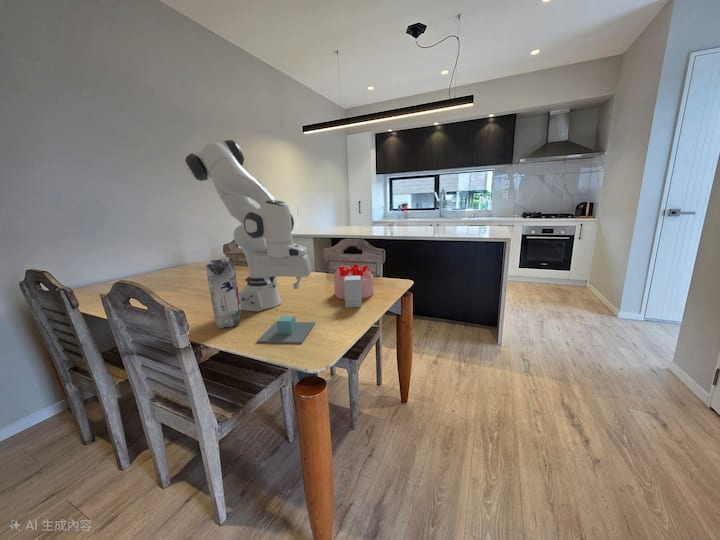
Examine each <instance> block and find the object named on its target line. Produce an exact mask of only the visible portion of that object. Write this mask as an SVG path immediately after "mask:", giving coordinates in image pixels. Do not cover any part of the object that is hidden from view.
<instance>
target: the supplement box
mask: <svg viewBox="0 0 720 540" xmlns="http://www.w3.org/2000/svg"><path fill="white" fill-rule="evenodd" d="M344 290H345V300H344V304H345V305H344V307H345V308H361V307H362V300H363V299H361V276H345V278H344Z"/></svg>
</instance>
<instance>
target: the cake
mask: <svg viewBox="0 0 720 540" xmlns="http://www.w3.org/2000/svg"><path fill="white" fill-rule="evenodd" d="M345 276H361V300H365V299H367V298H370V297H372V296H373V295H374V289H375V287H374V275H373V274H372V272H371V270H370V268H369V266H368V265H365V263H363V264H362V266H361V267H360V266H359V264H358V263H354V264H353V266H351V267H350V266H349V265H346V266H344V265H340V266H339V268H338V267H337V269H336V271H335V272H334V274H333V287H334V296H335V297H336V298H338V299H340V300H344V301H345V290H344V278H345Z"/></svg>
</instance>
